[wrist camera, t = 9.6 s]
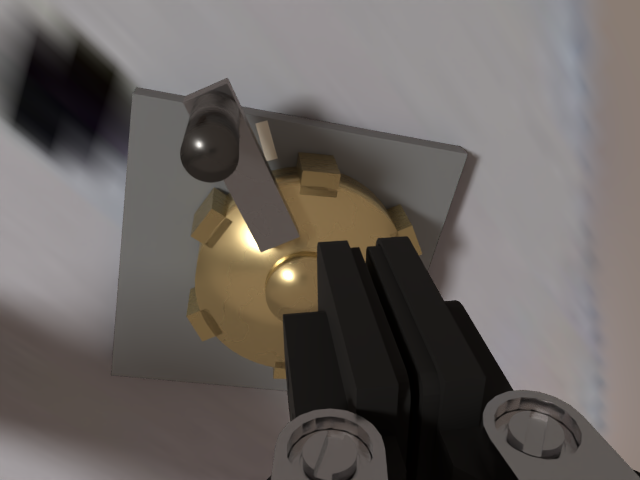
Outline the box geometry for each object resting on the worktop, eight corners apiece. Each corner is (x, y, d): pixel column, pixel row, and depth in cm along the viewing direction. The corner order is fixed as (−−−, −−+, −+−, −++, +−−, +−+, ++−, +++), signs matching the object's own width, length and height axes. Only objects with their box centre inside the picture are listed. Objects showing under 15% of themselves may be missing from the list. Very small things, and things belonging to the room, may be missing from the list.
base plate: (114, 362, 36) (110, 376, 35) (136, 87, 29) (132, 94, 28) (379, 386, 40) (383, 400, 38) (460, 146, 32) (468, 154, 31)
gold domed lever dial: (434, 298, 35) (487, 401, 27) (242, 373, 36) (241, 492, 28) (333, 19, 27) (368, 56, 19) (89, 125, 28) (33, 199, 20)
